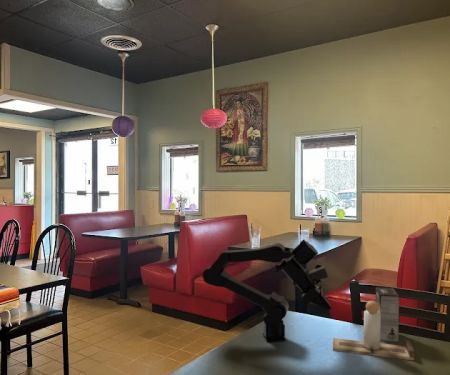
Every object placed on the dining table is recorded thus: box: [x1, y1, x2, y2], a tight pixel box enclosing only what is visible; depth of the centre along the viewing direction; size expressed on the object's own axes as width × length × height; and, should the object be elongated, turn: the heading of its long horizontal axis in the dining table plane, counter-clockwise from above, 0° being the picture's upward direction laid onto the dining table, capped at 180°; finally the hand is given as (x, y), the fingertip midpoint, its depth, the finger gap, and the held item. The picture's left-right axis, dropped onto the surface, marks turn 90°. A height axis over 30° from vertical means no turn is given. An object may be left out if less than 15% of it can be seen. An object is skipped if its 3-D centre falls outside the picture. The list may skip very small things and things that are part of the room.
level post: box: [363, 300, 381, 350], centre depth 125 cm, size 5×5×15 cm
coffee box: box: [375, 286, 400, 342], centre depth 136 cm, size 9×6×16 cm
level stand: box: [332, 337, 415, 361], centre depth 126 cm, size 24×9×3 cm, turn 73°
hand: (330, 308), depth 129 cm, fingers closed
